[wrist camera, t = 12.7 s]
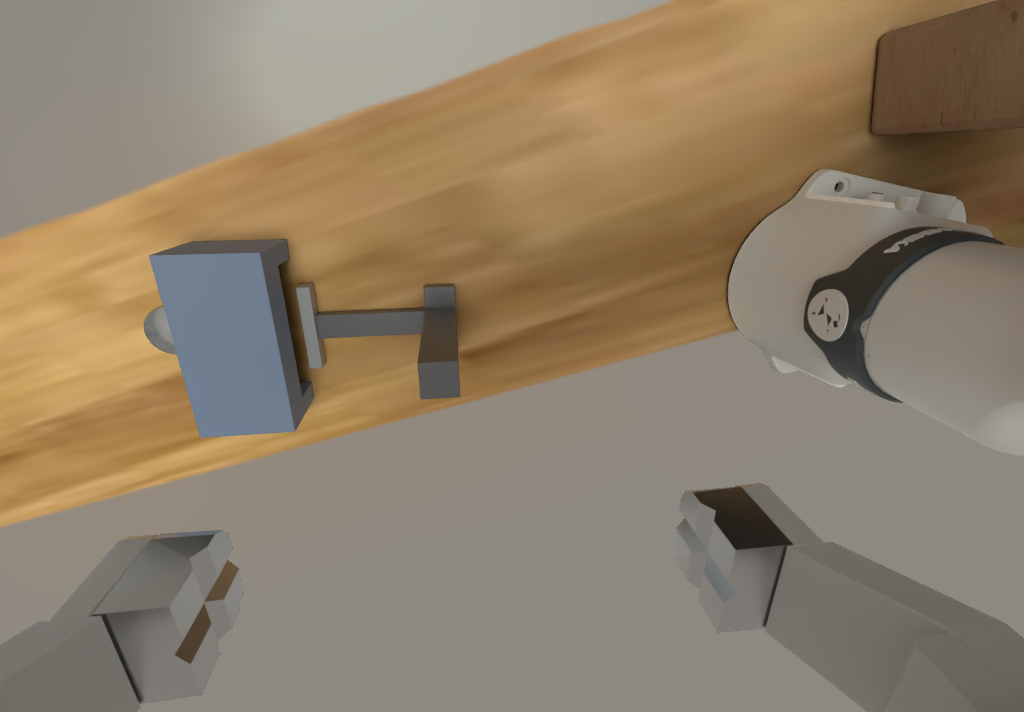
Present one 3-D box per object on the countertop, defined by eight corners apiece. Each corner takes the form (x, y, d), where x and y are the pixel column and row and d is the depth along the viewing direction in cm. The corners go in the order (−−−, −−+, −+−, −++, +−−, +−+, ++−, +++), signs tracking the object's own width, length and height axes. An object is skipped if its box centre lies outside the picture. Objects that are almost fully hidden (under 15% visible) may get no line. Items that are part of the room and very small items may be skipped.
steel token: (197, 302, 40) (191, 306, 39) (209, 348, 41) (203, 352, 40) (144, 305, 39) (137, 308, 39) (158, 350, 41) (151, 355, 40)
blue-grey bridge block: (286, 239, 39) (259, 252, 33) (314, 397, 44) (295, 431, 38) (192, 241, 38) (148, 255, 32) (232, 401, 43) (200, 437, 38)
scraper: (453, 278, 41) (456, 326, 29) (457, 354, 44) (461, 427, 32) (300, 283, 40) (238, 336, 28) (314, 361, 43) (262, 441, 31)
